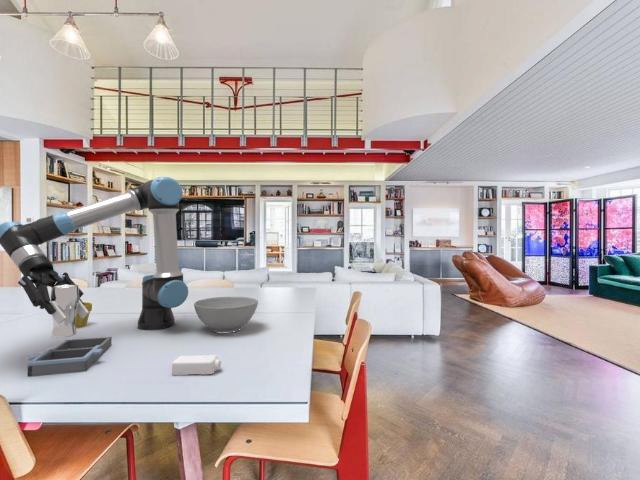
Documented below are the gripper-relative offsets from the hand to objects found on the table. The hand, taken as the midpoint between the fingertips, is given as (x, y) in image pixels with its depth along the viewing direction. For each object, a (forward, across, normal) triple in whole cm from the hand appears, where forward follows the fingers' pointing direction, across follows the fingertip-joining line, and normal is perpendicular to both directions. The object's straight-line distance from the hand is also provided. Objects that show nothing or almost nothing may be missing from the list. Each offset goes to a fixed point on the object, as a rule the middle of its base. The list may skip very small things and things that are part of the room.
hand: (74, 317), depth 99 cm
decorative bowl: (+27, -50, +7) cm, 57 cm away
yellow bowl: (-19, -38, -40) cm, 59 cm away
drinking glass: (+1, 0, -7) cm, 7 cm away
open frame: (+6, -6, -15) cm, 17 cm away
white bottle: (+37, -6, +16) cm, 41 cm away
